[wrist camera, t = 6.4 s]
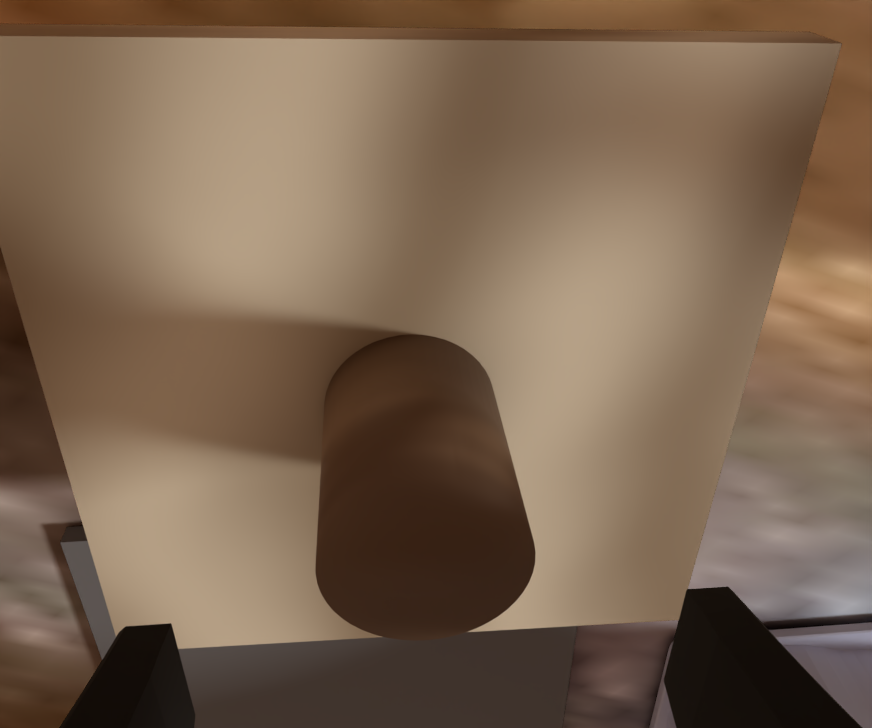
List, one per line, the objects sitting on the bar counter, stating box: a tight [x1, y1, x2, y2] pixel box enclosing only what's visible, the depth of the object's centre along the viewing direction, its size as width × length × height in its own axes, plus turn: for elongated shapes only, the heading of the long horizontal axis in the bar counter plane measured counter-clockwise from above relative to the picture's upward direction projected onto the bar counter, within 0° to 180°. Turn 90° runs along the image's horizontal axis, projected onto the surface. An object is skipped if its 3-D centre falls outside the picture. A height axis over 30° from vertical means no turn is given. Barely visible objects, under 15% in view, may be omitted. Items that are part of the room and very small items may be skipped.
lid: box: [0, 24, 842, 649], centre depth 13 cm, size 13×13×5 cm
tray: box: [60, 526, 577, 728], centre depth 26 cm, size 15×15×1 cm
